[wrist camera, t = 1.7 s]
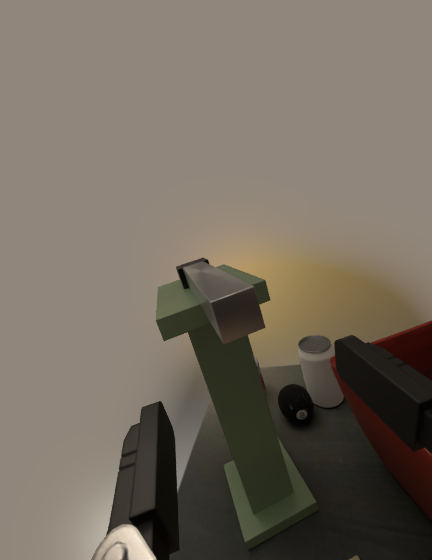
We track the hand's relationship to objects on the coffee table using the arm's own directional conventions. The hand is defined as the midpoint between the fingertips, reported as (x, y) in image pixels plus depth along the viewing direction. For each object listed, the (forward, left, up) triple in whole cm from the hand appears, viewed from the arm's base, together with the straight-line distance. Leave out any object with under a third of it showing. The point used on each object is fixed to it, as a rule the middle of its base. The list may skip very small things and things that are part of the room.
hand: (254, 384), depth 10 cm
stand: (-14, -9, -31) cm, 35 cm away
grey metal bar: (-9, -6, +1) cm, 11 cm away
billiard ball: (-27, -5, -31) cm, 42 cm away
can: (-32, 0, -31) cm, 45 cm away
